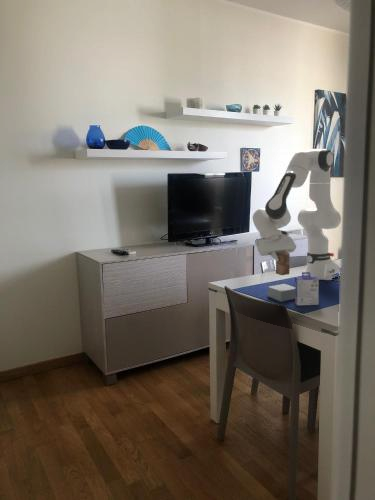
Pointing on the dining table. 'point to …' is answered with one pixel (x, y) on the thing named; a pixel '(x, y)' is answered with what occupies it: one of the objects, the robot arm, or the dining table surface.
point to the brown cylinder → (283, 263)
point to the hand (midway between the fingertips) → (283, 260)
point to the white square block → (281, 292)
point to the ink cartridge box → (306, 290)
